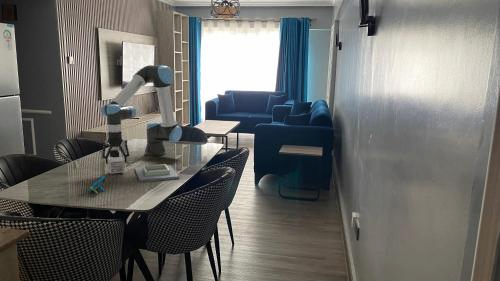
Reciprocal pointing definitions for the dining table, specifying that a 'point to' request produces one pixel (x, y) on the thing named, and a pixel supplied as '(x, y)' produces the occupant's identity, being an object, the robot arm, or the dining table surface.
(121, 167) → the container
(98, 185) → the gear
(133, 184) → the dining table surface
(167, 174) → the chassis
